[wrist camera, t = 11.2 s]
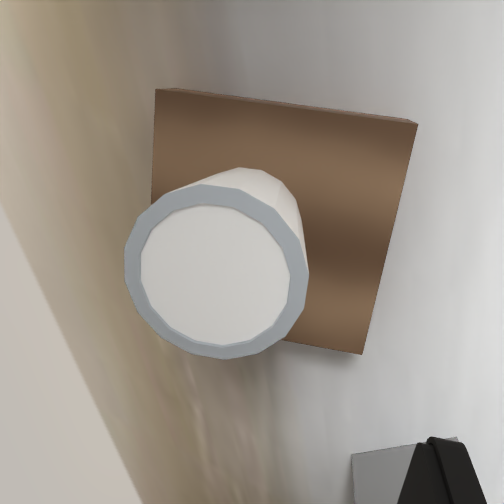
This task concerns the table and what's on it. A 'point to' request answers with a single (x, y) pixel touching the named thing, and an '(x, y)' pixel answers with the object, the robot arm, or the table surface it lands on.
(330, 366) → the table surface
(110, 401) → the table surface
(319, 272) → the walnut plinth
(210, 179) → the white cup
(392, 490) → the perfume bottle
